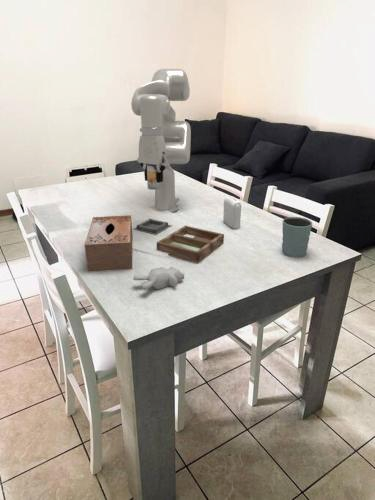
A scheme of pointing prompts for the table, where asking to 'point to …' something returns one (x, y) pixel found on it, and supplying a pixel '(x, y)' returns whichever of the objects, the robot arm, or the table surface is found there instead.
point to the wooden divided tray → (191, 243)
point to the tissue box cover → (109, 243)
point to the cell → (152, 177)
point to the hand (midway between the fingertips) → (153, 180)
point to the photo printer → (232, 212)
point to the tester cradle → (152, 226)
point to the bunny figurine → (160, 278)
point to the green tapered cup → (296, 236)
